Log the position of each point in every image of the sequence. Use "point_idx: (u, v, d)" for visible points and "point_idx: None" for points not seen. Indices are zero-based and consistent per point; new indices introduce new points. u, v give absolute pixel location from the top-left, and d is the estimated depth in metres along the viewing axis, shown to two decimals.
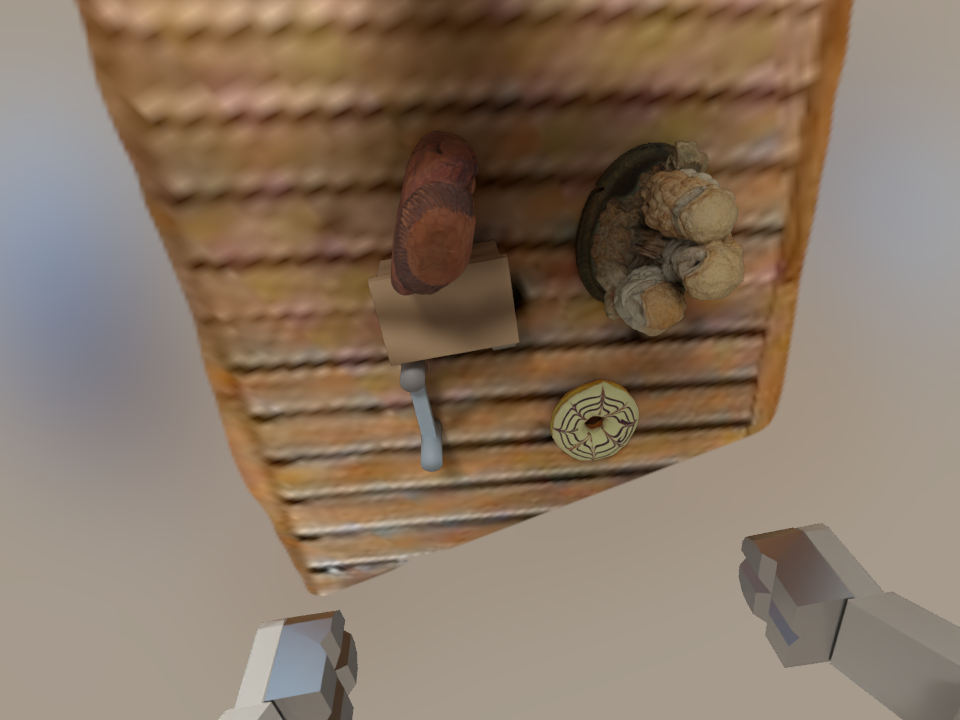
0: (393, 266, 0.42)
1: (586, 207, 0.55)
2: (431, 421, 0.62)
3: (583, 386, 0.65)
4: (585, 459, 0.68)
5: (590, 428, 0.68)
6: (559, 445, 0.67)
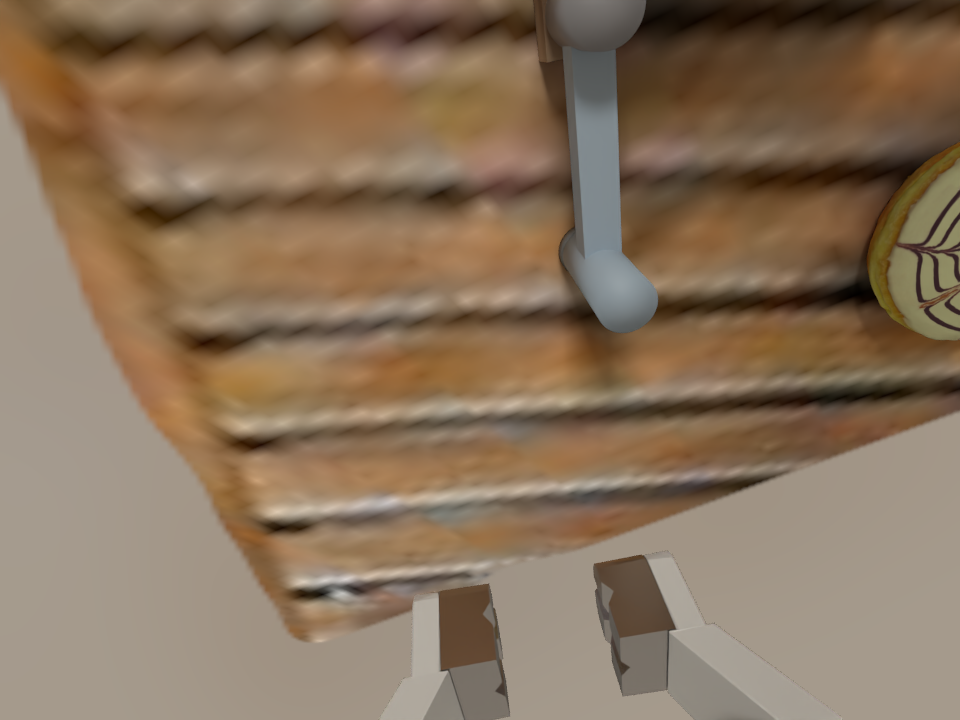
0: None
1: None
2: (616, 197, 0.23)
3: None
4: (948, 335, 0.28)
5: None
6: (901, 295, 0.27)
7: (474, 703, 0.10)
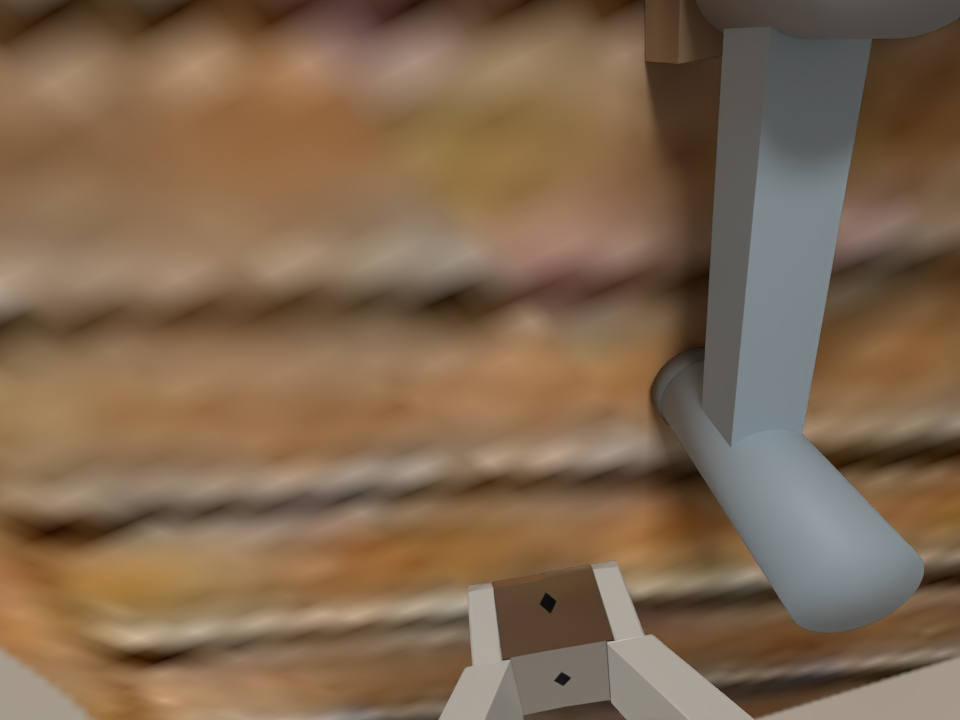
0: None
1: None
2: (812, 341, 0.11)
3: None
4: None
5: None
6: None
7: (532, 693, 0.10)
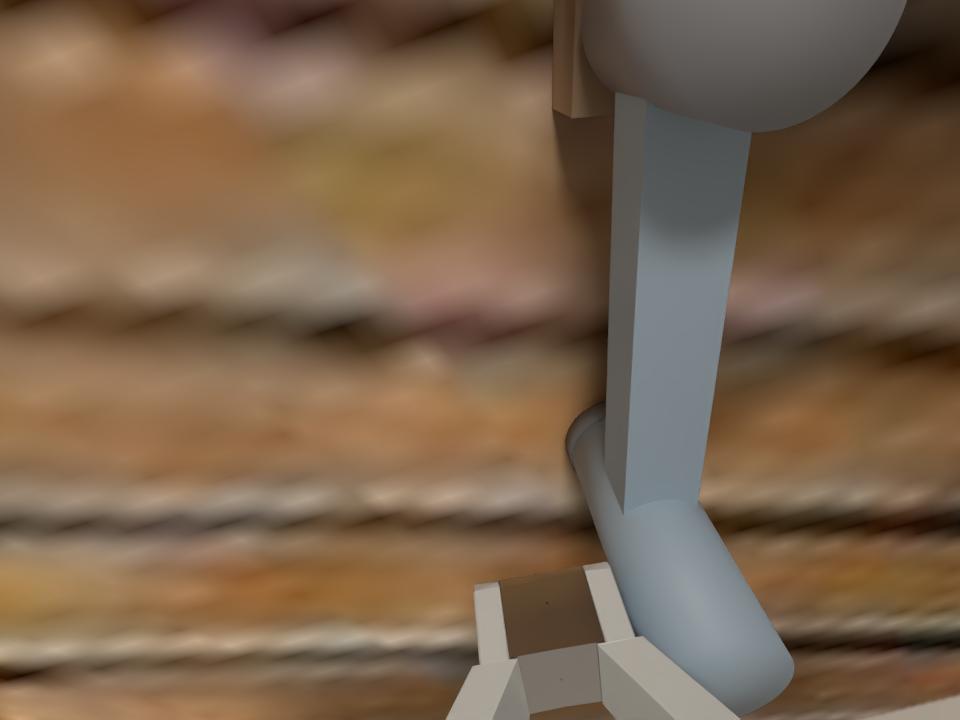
0: None
1: None
2: (703, 414, 0.11)
3: None
4: None
5: None
6: None
7: (539, 691, 0.10)
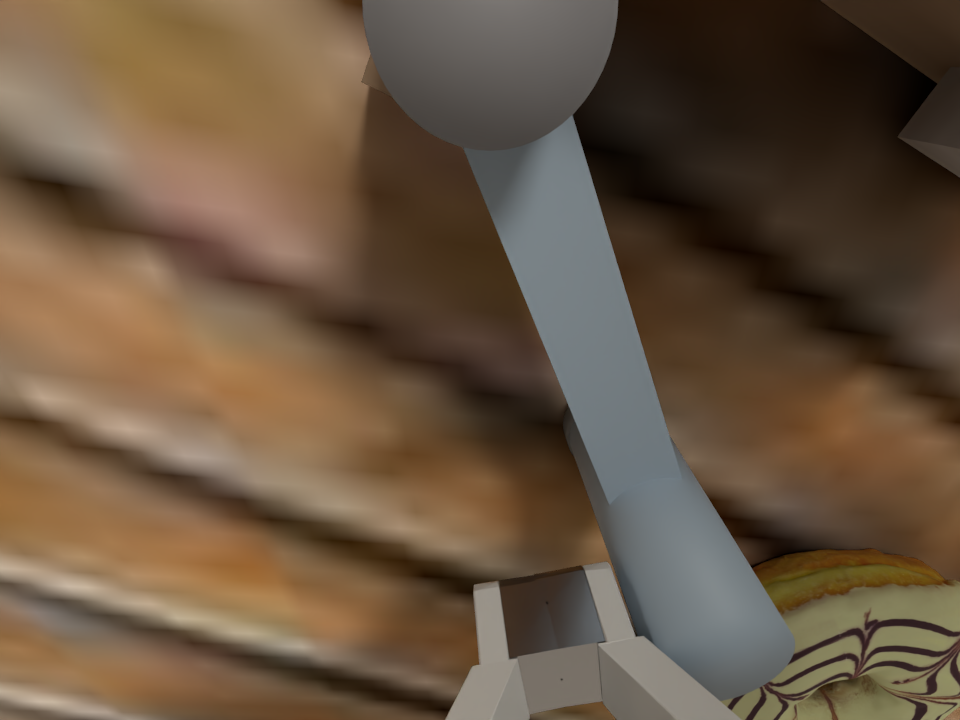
0: None
1: None
2: (648, 393, 0.10)
3: (898, 565, 0.18)
4: None
5: None
6: None
7: (538, 691, 0.10)
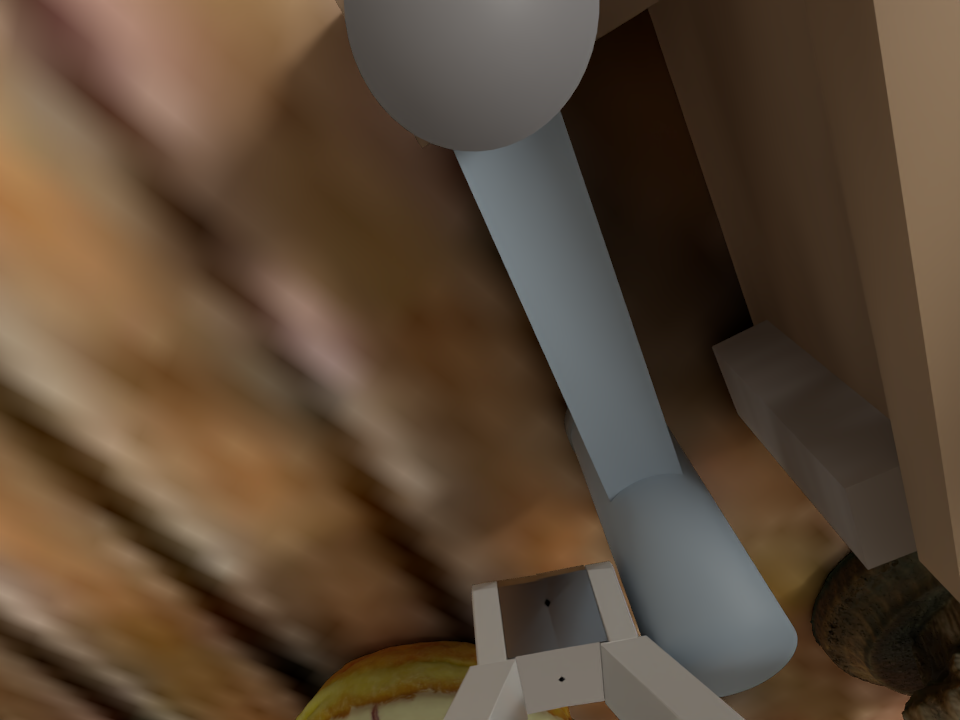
0: None
1: None
2: (646, 389, 0.10)
3: None
4: None
5: None
6: None
7: (537, 692, 0.10)
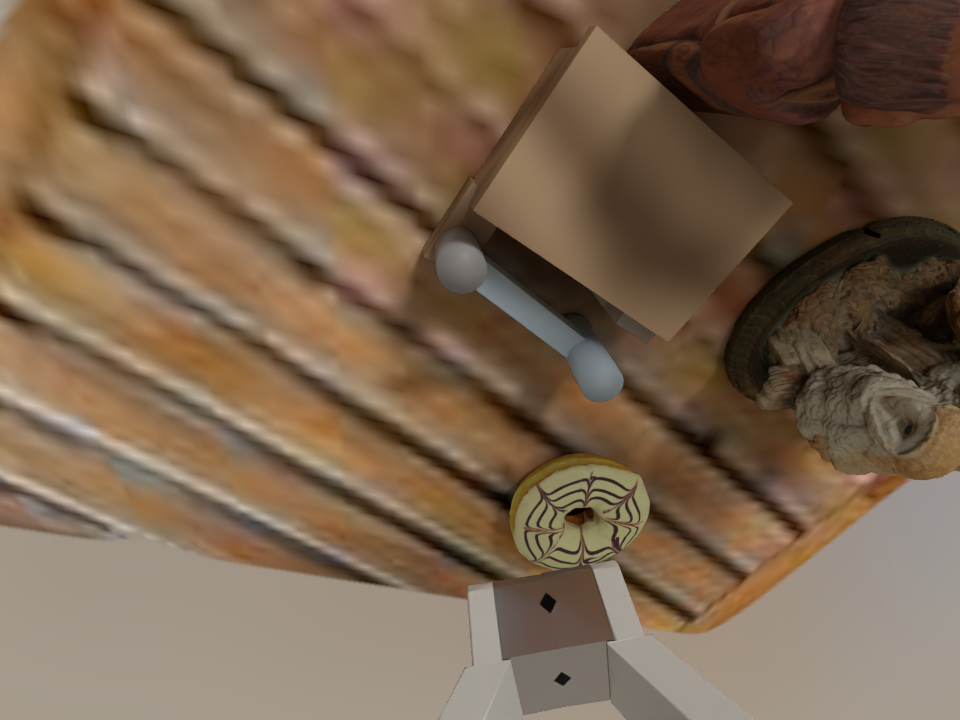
0: None
1: (839, 241, 0.35)
2: (555, 319, 0.32)
3: (613, 461, 0.41)
4: (526, 554, 0.42)
5: (564, 518, 0.43)
6: (520, 514, 0.41)
7: (532, 693, 0.10)
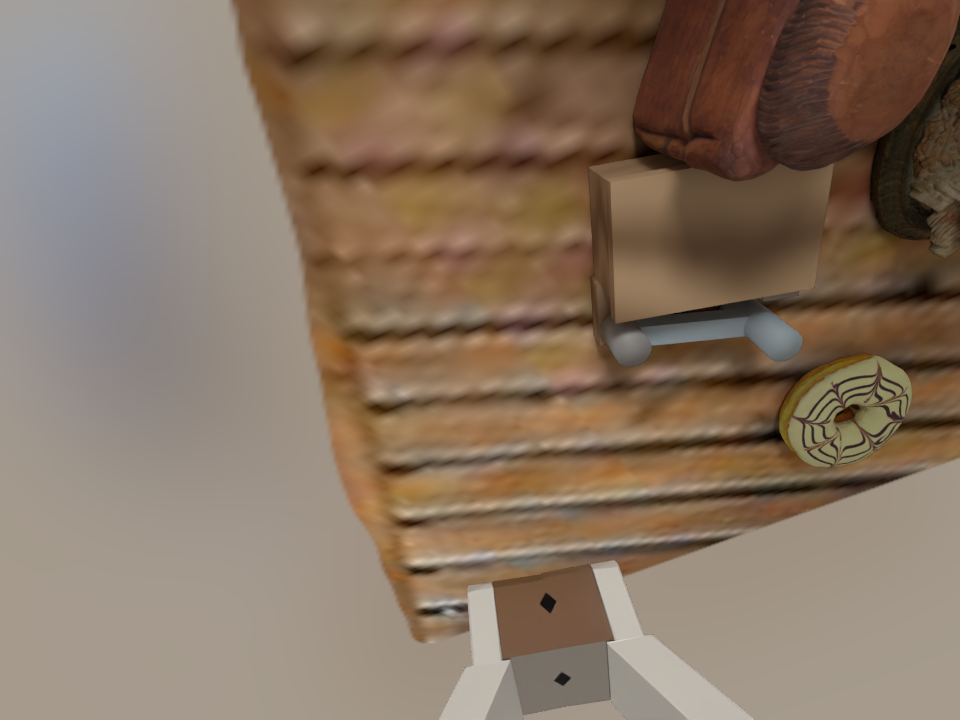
0: (742, 119, 0.23)
1: None
2: (717, 321, 0.40)
3: (845, 360, 0.46)
4: (821, 465, 0.49)
5: (835, 422, 0.48)
6: (794, 442, 0.47)
7: (532, 693, 0.10)
